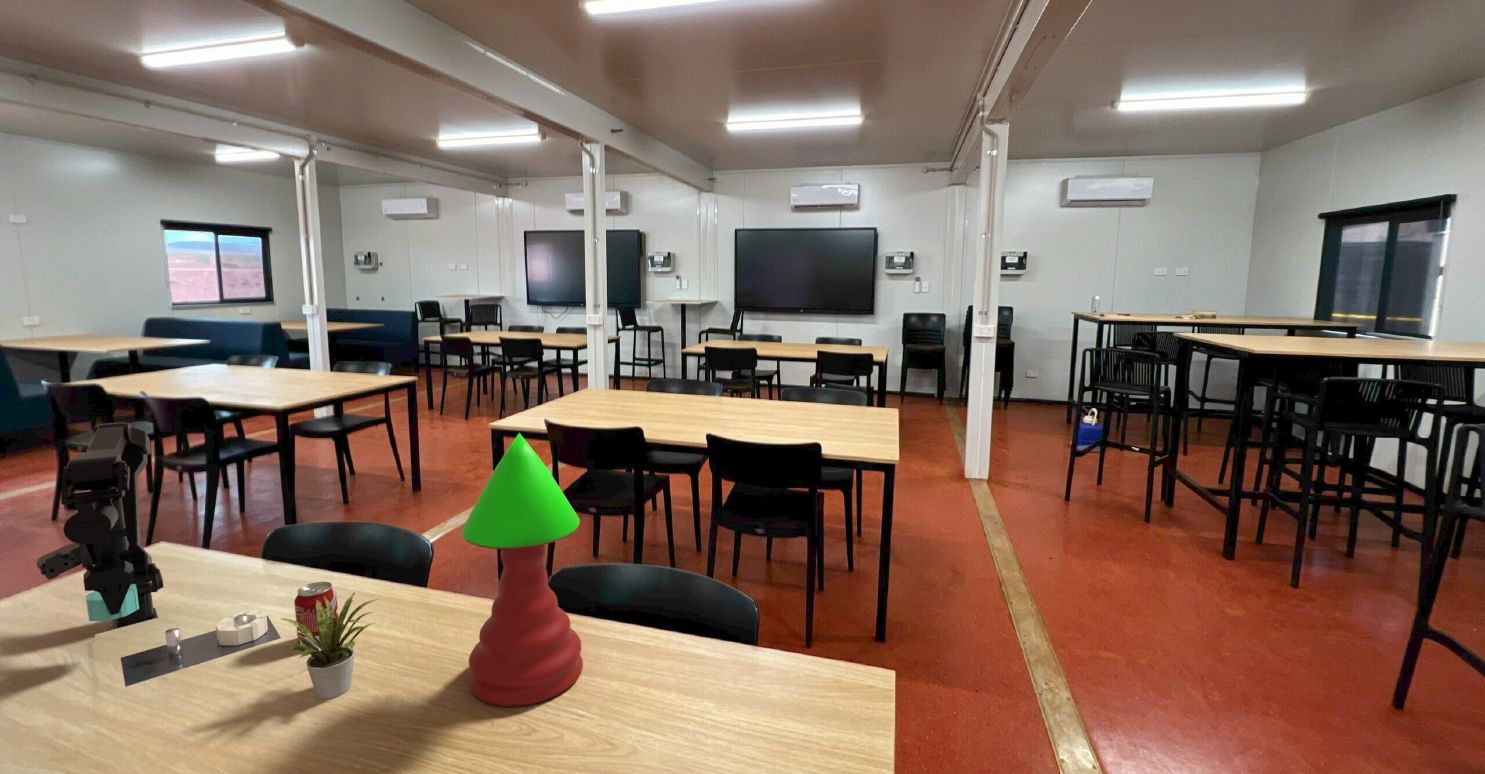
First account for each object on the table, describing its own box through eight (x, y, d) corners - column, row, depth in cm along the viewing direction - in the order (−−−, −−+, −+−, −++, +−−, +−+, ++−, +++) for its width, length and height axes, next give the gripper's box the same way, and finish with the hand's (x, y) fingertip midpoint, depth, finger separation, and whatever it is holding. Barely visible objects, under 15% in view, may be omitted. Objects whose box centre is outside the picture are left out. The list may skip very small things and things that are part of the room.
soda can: (320, 657, 122) (315, 598, 120) (289, 653, 123) (284, 593, 121) (348, 639, 129) (344, 581, 127) (319, 634, 130) (314, 578, 128)
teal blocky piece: (88, 611, 119) (86, 591, 119) (137, 600, 124) (135, 580, 123) (89, 625, 115) (86, 604, 114) (139, 612, 119) (137, 592, 119)
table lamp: (537, 633, 132) (531, 416, 125) (605, 667, 121) (602, 431, 114) (445, 679, 116) (432, 434, 109) (513, 724, 105) (503, 453, 98)
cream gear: (215, 634, 127) (213, 620, 126) (262, 620, 132) (260, 606, 132) (221, 650, 122) (220, 635, 121) (270, 634, 127) (269, 620, 126)
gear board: (121, 663, 119) (117, 631, 118) (267, 620, 135) (265, 592, 134) (126, 692, 111) (122, 659, 110) (281, 643, 126) (278, 613, 126)
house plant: (406, 675, 117) (400, 590, 115) (336, 723, 104) (328, 629, 102) (346, 659, 122) (340, 577, 119) (272, 703, 109) (263, 612, 106)
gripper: (39, 522, 118) (51, 603, 120) (34, 553, 105) (48, 643, 107) (124, 508, 125) (134, 584, 128) (129, 535, 112) (140, 620, 115)
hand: (114, 606), depth 119 cm, fingers closed on teal blocky piece, 7 cm apart
